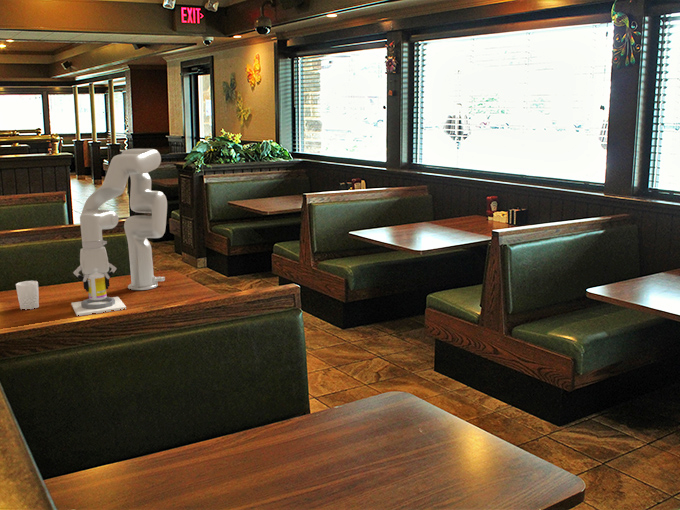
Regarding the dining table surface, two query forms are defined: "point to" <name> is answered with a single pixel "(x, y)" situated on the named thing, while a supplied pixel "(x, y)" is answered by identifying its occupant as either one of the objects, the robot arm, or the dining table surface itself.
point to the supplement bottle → (96, 286)
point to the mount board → (98, 306)
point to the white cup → (28, 294)
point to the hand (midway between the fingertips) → (96, 289)
